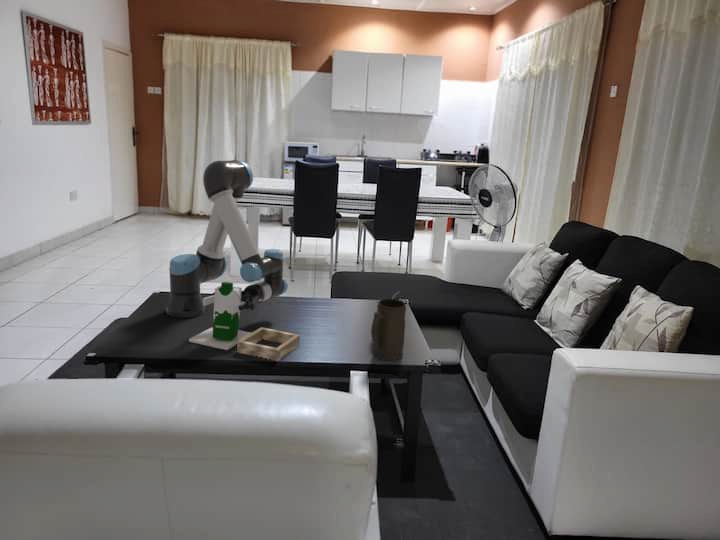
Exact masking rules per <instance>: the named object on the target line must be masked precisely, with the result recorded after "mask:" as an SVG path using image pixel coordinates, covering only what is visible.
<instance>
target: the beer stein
mask: <svg viewBox="0 0 720 540" xmlns="http://www.w3.org/2000/svg"><path fill="white" fill-rule="evenodd" d="M376 308H377V309H378V312H377V311H375V312H374V313H373V315H374V316H373V321H372V323H371V329H370V333H371V335H370V336H371V340H372V345H373V347H372V348H371V353H372V355H373V356H374V357H375V358H376V357H377V359H379V360H381V359H383V360H382V361H387V360H394V361H398V360H397V359H399V360H400V358H401V359H402V358H403V357H402V356H404V351H403V349H404V345H405V334H406V333H405V331H406V313H405V311H406V312H407V305H406V302H404V301H402V300H399V299H395V298H393V299H392V298H386V299H381V300H379V301H378V303H377V306H376ZM377 309H376V310H377Z"/></svg>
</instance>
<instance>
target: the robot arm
mask: <svg viewBox="0 0 720 540" xmlns="http://www.w3.org/2000/svg"><path fill="white" fill-rule="evenodd" d="M202 178H203V180H202V182H203V187H204V190H205V193H206V196H207V198H208V200H209V201H210V202H212V203H213V205H212V210H211V214H210V216H209V221H208V224H207V228H206V232H205V235H204V237H203V240H202V241H203V242H202V244H201V245H199V246H198V247H197V250H196V254H193V253H184V254H179V255H176V256H174V257H173V258H171V259H170V261H169V269H168V270H169V285H170V288H169V289H170V293H169V298H168V301H167V305H166V309H165V311H166V314H167V316H169V317H172V318H180V319H185V318H186V319H187V318H189V319H190V318H194V317H199V316H202V315H204V313H205V311H206V309H205V308H206V306H208V305H209V306H210V305H213V304H214V299H215V291H214V292H212V295H210V296H206V297H202V295H201V284H204V283H208V282H210V281H214V280H216V279H219V278H220V277H222V276H223V275H224V274H225V272H226V270H227V266H228V262H227V261H226V260H227V259H226V252H225V251H224V247H225V244H226V241H227V237H229V240H230V241H231V244H232V246H233V249H234V250H235V252H236V254H237V256H238V258H239V261H240V263H241V266H240V268H239V269H240V270H239V271H240V272H239V274H240V277H241V278H242V280H243V281H245V282H247V283H253V282H256V283H253V284H250V285H247V286H246V287H245V288H244V289H243V290H241V303H239V304H237V305H233V306H230V313H231V314H233V313H236V312H239V311H240V312H241V311H243V310H244V311H245V310H250V311H254V310H255V309H256V308H257V307H258V305H260V304H262V303H263V302H264V301H267V300H269V299H273V298H275V297H276V298H277V297H279V296H281V295H283V294H285V293H287V291H288V287H289V285H288V282H287V279H286V278H285V277H283V276H284V275H283V272H284V253H283V251H282V250H280V249H277V248H273V249H271V248H270V249H265V251H264V252H263V257H261V255H260V253H259V250H258V249H257V247H256V244H255V243H254V242H255V241H254V240H253V238H252V236H251V233H250V232H249V229H248V227H247V224H246V223H245V221H244V218H243V215H242V214H241V212H240V209H239V206H238V205H237V204H238V200H240V199H242V198H243V197H244V193H245V190H246V189H248V188H249V187H251V186H252V184H253V180H254V175H253V171H252V169H251V166H250V165H249V164H247V163H246V162H244V161H242V160H237V159H233V160H214V161H212V162H211V163H209V164H208V165H207V166H206V167H205V170H204V171H203V177H202ZM262 279H263V281H260V280H262ZM258 281H259V282H258Z"/></svg>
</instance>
